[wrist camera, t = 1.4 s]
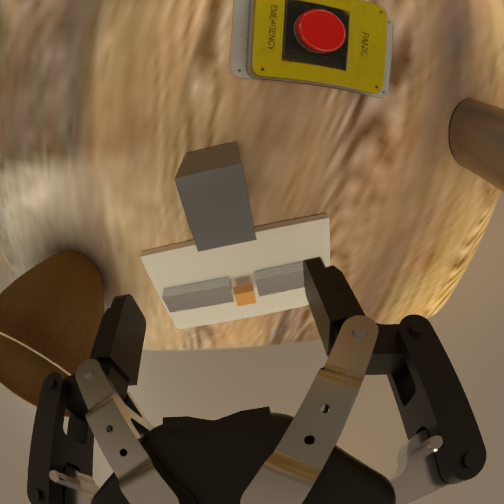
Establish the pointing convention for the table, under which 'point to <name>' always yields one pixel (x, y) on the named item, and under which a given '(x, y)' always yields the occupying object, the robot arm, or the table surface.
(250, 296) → the block
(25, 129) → the table surface
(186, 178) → the block
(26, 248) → the table surface
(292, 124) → the table surface
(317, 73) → the emergency button
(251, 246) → the mounting plate
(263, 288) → the rail
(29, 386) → the plant pot
